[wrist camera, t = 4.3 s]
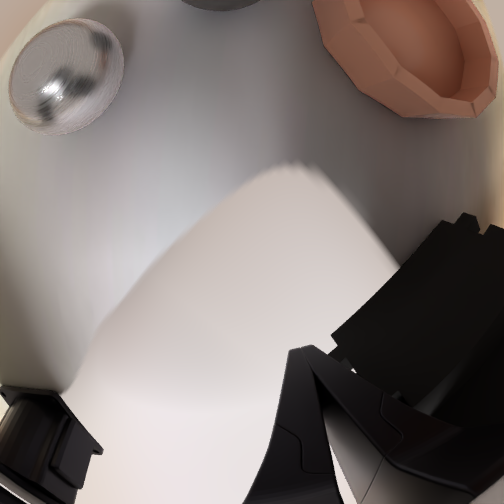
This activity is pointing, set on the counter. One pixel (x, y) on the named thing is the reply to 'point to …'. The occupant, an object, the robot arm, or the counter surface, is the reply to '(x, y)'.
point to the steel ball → (66, 76)
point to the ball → (220, 4)
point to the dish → (413, 54)
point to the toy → (437, 328)
